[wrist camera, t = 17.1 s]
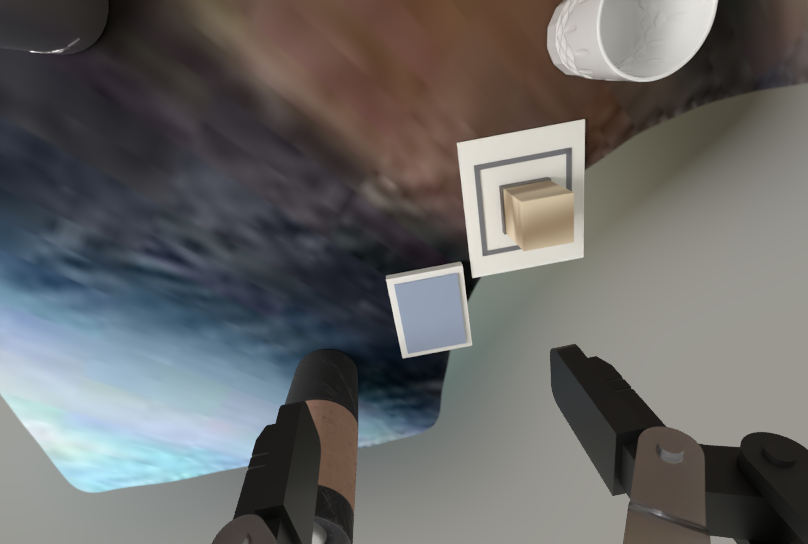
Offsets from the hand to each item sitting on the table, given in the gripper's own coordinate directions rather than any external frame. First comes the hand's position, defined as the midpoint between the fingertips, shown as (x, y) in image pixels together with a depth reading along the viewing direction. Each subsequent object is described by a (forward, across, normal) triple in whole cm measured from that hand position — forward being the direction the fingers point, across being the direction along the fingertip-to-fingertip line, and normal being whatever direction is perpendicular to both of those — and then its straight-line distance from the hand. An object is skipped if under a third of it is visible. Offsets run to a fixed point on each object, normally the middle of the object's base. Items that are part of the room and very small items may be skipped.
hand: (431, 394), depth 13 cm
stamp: (+28, -13, +4) cm, 32 cm away
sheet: (+29, -13, +4) cm, 32 cm away
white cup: (+29, -20, -9) cm, 36 cm away
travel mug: (+29, +11, +20) cm, 37 cm away
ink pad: (+29, -2, +14) cm, 32 cm away
